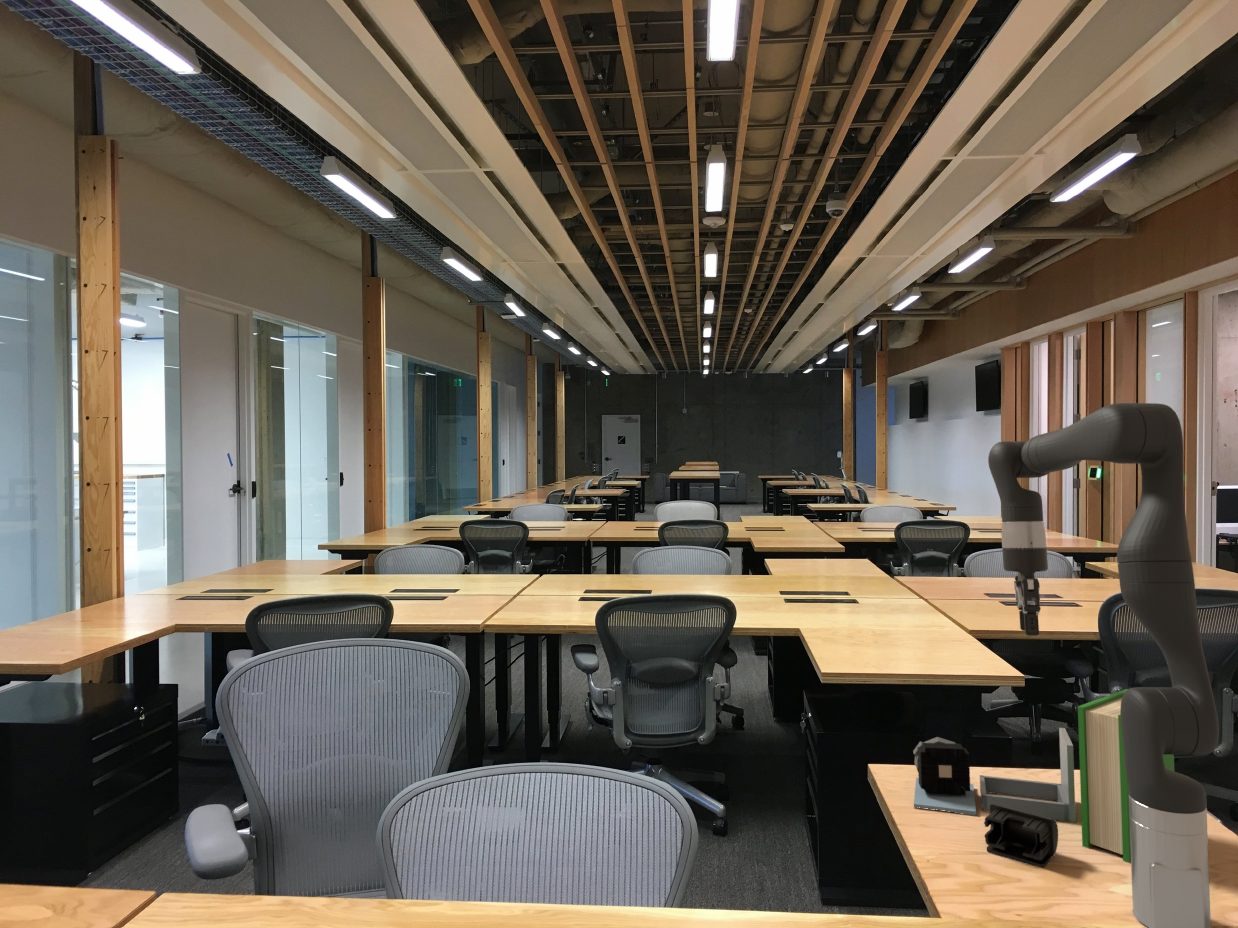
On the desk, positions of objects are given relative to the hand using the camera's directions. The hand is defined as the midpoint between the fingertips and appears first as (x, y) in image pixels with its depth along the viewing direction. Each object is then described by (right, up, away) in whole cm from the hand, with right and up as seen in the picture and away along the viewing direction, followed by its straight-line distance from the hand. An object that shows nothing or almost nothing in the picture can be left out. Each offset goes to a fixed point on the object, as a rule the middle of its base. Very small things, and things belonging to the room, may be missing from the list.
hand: (1029, 632), depth 149 cm
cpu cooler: (-12, -34, +10) cm, 38 cm away
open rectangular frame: (+1, -34, +5) cm, 35 cm away
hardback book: (+12, -34, -10) cm, 38 cm away
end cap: (-8, -35, -14) cm, 38 cm away
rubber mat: (-12, -35, +9) cm, 38 cm away
